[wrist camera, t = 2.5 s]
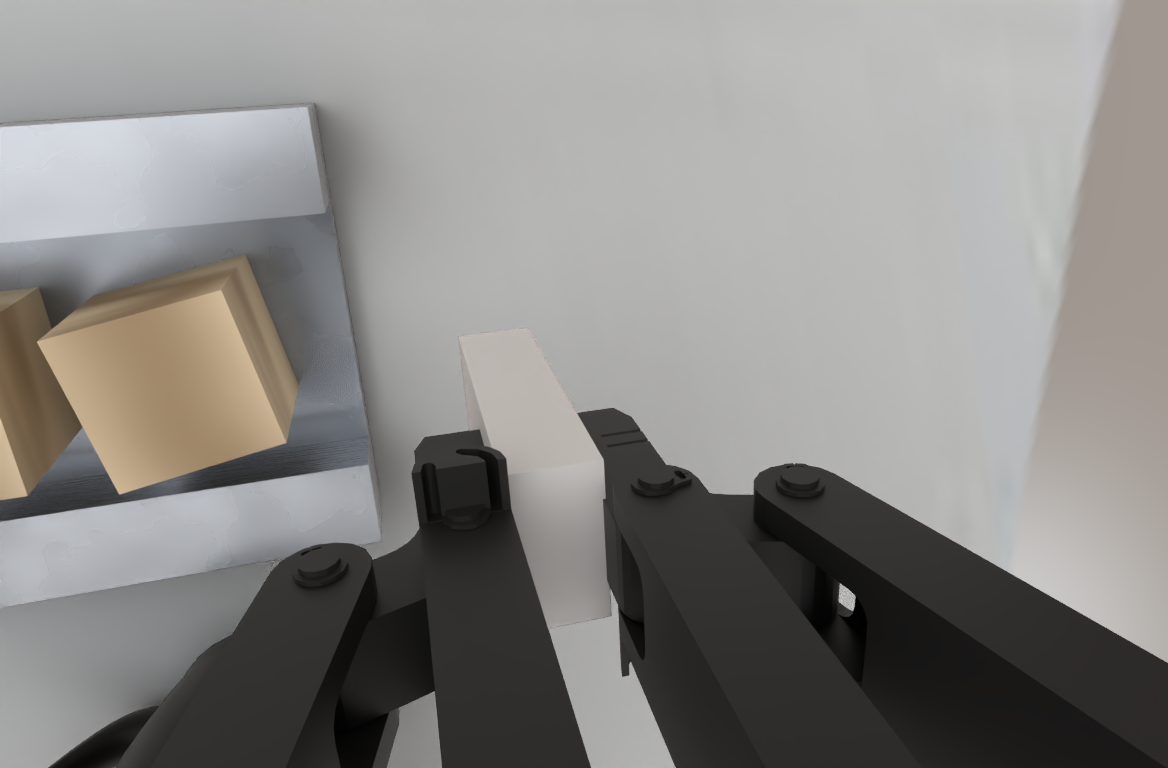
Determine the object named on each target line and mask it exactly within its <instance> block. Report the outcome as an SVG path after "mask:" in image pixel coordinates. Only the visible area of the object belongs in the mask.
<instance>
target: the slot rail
mask: <svg viewBox="0 0 1168 768" xmlns="http://www.w3.org/2000/svg"><path fill="white" fill-rule="evenodd" d="M244 254H245V255H246V257H247V260H248V262H249V264H250V267H251V269H252V272H253V274H254V277H255V279H256V282H257V284H258V287H259V289H260V291H261V294H262V296H263V299H264V301H265V304H266V306H267V309H268V311H269V314H270V316H271V319H272V321H273V323H274V326H275V328H276V331H277V333H278V336H279V338H280V341H281V343H282V346H283V348H284V350H285V353H286V355H287V358H288V360H289V363H290V365H291V368H292V370H293V373H294V375H295V377H296V380H297V382H298V385H299V388H298V392H297V397H296V402H295V406H294V411H293V415H292V420H291V424H290V429H289V434H288V438H287V443H285V444H281V445H278V446H275V447H272V448H268V449H265V450H262V451H259V452H255V453H252V454H249V455H246V456H242V457H239V458H236V459H233V460H230V461H226V462H223V463H220V464H217V465H213V466H210V467H207V468H204V469H200V470H197V471H194V472H191V473H187V474H184V475H181V476H178V477H175V478H171V479H168V480H165V481H162V482H158V483H155V484H152V485H149V486H145V487H142V488H139V489H136V490H132V491H129V492H126V493H123V494H119V493H118V491H117V490H116V488H115V486H114V484H113V482H112V480H111V478H110V477H109V475H108V473H107V471H106V469H105V467H104V465H103V464H102V462H101V460H100V458H99V456H98V454H97V452H96V451H95V449H94V447H93V445H92V443H91V441H90V439H89V438H88V436H87V434H86V432H85V430H84V428H83V426H82V429H81V430H80V431H79V433H78V434H77V435H76V436H75V438H74V439H73V440H72V441H71V443H70V444H69V445H68V446H67V448H66V449H65V450H64V451H63V453H62V454H61V455H60V456H59V458H58V459H57V460H56V461H55V463H54V464H53V465H52V466H51V468H50V469H49V470H48V471H47V473H46V474H45V475H44V476H43V478H42V479H41V480H40V481H39V483H38V484H37V485H36V486H35V488H34V489H33V490H32V491H31V493H30V494H29V495H28V496H25V497H18V498H11V499H5V500H0V608H1V607H7V606H13V605H18V604H24V603H30V602H36V601H41V600H47V599H53V598H59V597H64V596H70V595H76V594H81V593H87V592H93V591H99V590H104V589H110V588H116V587H122V586H127V585H133V584H139V583H144V582H150V581H156V580H162V579H167V578H173V577H179V576H185V575H190V574H196V573H202V572H207V571H213V570H219V569H225V568H230V567H236V566H242V565H248V564H253V563H259V562H265V561H271V560H276V559H282V558H287V557H289V556H291V555H293V554H294V553H296V552H298V551H300V550H302V549H305V548H307V547H308V548H309V547H310V546H314V545H318V544H328V543H335V542H336V543H350V544H354V545H362V544H368V543H374V542H379V541H381V508H380V490H379V484H378V478H377V472H376V466H375V460H374V454H373V448H372V442H371V436H370V430H369V424H368V418H367V412H366V406H365V400H364V394H363V388H362V382H361V376H360V370H359V364H358V358H357V352H356V346H355V340H354V334H353V328H352V322H351V316H350V310H349V305H348V299H347V293H346V287H345V281H344V275H343V269H342V263H341V257H340V251H339V245H338V239H337V233H336V227H335V221H334V215H333V209H332V203H331V197H330V191H329V185H328V179H327V173H326V167H325V161H324V155H323V149H322V143H321V137H320V131H319V125H318V119H317V113H316V107H315V103H302V104H287V105H272V106H256V107H241V108H226V109H210V110H195V111H180V112H164V113H149V114H134V115H118V116H103V117H88V118H72V119H57V120H42V121H26V122H11V123H0V291H6V290H16V289H26V288H35V287H39V290H40V293H41V296H42V299H43V303H44V306H45V309H46V312H47V316H48V319H49V322H50V325H51V328H52V329H53V328H54V327H55V326H57V325H58V324H59V323H60V322H61V321H63V320H64V319H65V318H66V317H68V316H69V315H70V314H71V313H73V312H74V311H75V310H76V309H77V308H79V307H80V306H81V305H82V304H84V303H85V302H86V301H87V300H88V299H90V298H91V297H92V296H94V295H98V294H102V293H105V292H109V291H113V290H116V289H120V288H124V287H127V286H131V285H135V284H138V283H142V282H145V281H149V280H153V279H156V278H160V277H164V276H167V275H171V274H175V273H178V272H182V271H185V270H189V269H193V268H196V267H200V266H204V265H207V264H211V263H215V262H218V261H222V260H225V259H229V258H233V257H236V256H240V255H244Z"/></svg>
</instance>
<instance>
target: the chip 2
mask: <svg viewBox="0 0 1168 768" xmlns="http://www.w3.org/2000/svg"><path fill="white" fill-rule="evenodd" d="M37 343H38V345H39V347H40V349H41V350H42V352H43V354H44V356H45V358H46V360H47V362H48V363H49V365H50V367H51V369H52V371H53V373H54V374H55V376H56V378H57V380H58V382H59V384H60V386H61V387H62V389H63V391H64V393H65V395H66V397H67V399H68V400H69V402H70V404H71V406H72V408H73V410H74V412H75V413H76V415H77V417H78V419H79V421H80V423H81V425H82V426H83V428H84V430H85V432H86V434H87V436H88V438H89V439H90V441H91V443H92V445H93V447H94V449H95V451H96V452H97V454H98V456H99V458H100V460H101V462H102V464H103V465H104V467H105V469H106V471H107V473H108V475H109V477H110V478H111V480H112V482H113V484H114V486H115V488H116V490H117V491H118V493H119V494H123V493H126V492H129V491H132V490H136V489H139V488H142V487H145V486H149V485H152V484H155V483H158V482H162V481H165V480H168V479H171V478H175V477H178V476H181V475H184V474H187V473H191V472H194V471H197V470H200V469H204V468H207V467H210V466H213V465H217V464H220V463H223V462H226V461H230V460H233V459H236V458H239V457H242V456H246V455H249V454H252V453H255V452H259V451H262V450H265V449H268V448H272V447H275V446H278V445H281V444H285V443H287V438H288V434H289V429H290V424H291V420H292V415H293V411H294V406H295V402H296V397H297V392H298V388H299V385H298V382H297V380H296V377H295V375H294V373H293V370H292V368H291V365H290V363H289V360H288V358H287V355H286V353H285V350H284V348H283V346H282V343H281V341H280V338H279V336H278V333H277V331H276V328H275V326H274V323H273V321H272V319H271V316H270V314H269V311H268V309H267V306H266V304H265V301H264V299H263V296H262V294H261V291H260V289H259V287H258V284H257V282H256V279H255V277H254V274H253V272H252V269H251V267H250V264H249V262H248V260H247V257H246V255H245V254H244V255H240V256H236V257H233V258H229V259H225V260H222V261H218V262H215V263H211V264H207V265H204V266H200V267H196V268H193V269H189V270H185V271H182V272H178V273H175V274H171V275H167V276H164V277H160V278H156V279H153V280H149V281H145V282H142V283H138V284H135V285H131V286H127V287H124V288H120V289H116V290H113V291H109V292H105V293H102V294H98V295H94V296H92V297H91V298H90V299H88V300H87V301H86V302H85V303H84V304H82V305H81V306H80V307H79V308H77V309H76V310H75V311H74V312H73V313H71V314H70V315H69V316H68V317H66V318H65V319H64V320H63V321H61V322H60V323H59V324H58V325H57V326H55V327H54V328H53V329H52V330H50V331H49V332H48V333H47V334H46V335H44V336H43V337H42V338H41V339H39V340H38V341H37Z"/></svg>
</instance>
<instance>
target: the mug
mask: <svg viewBox="0 0 1168 768" xmlns="http://www.w3.org/2000/svg"><path fill="white" fill-rule="evenodd" d="M230 637H231V636H229V637H227V638H225V639H224V640H222V641H220V642H218V643H216V644H214V645H212V646H211V647H210V648H209V649H208V650H206V651H205V652H204V653H203V654H201V655H200V656H199V657H198V658H197V659H196V661H195V662H194V663H193V664H192V666H191V667H190V668H189V670H188V671H187V673H186V674H185V676H184V677H183V678H182V680H181V681H180V682H179V683H178V684H177V685H176V687H175V688H174V689H173V690H172V691H171V692H170V694H169V695H168V696H167V697H166V699H165V700H164V701H163V702H162V704H161V705H160V706H154V707H149V708H145V709H142V710H138V711H136V712H133V713H131V714H128V715H126V716H124V717H122V718H120V719H118V720H116V721H114V722H113V723H111V724H109V725H107V726H106V727H104V728H103V729H101V730H99V731H98V732H96V733H95V734H93V735H92V736H90V737H89V738H88V739H86V740H85V741H83V742H82V743H81V744H79V745H78V746H76V747H75V748H74V749H72V750H71V751H70V752H68V753H67V754H66V755H64V756H63V757H62V758H60V759H59V760H58V761H56V762H55V763H54V764H53V765H51V766H50V767H49V768H115V767H116V768H150V767H151V765H152V764H153V762H154V761H155V759H156V757H157V756H158V754H159V753H160V751H161V749H162V748H163V746H164V744H165V743H166V741H167V740H168V738H169V736H170V735H171V733H172V731H173V730H174V728H175V727H176V725H177V723H178V722H179V720H180V719H181V717H182V715H183V714H184V712H185V710H186V709H187V707H188V706H189V704H190V702H191V701H192V699H193V697H194V696H195V694H196V693H197V691H198V689H199V688H200V686H201V684H202V683H203V681H204V680H205V678H206V676H207V675H208V673H209V672H210V670H211V668H212V667H213V665H214V663H215V662H216V660H217V659H218V657H219V655H220V654H221V652H222V650H223V649H224V647H225V646H226V644H227V642H228V641H229V639H230Z"/></svg>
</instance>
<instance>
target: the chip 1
mask: <svg viewBox="0 0 1168 768" xmlns="http://www.w3.org/2000/svg"><path fill="white" fill-rule="evenodd" d="M50 330H52V328H51V325H50V322H49V319H48V316H47V312H46V309H45V306H44V303H43V299H42V296H41V293H40V290H39V287H35V288H26V289H16V290H6V291H0V500H5V499H11V498H18V497H25V496H28V495H29V494H30V493H31V491H32V490H33V489H34V488H35V486H36V485H37V484H38V483H39V481H40V480H41V479H42V478H43V476H44V475H45V474H46V473H47V471H48V470H49V469H50V468H51V466H52V465H53V464H54V463H55V461H56V460H57V459H58V458H59V456H60V455H61V454H62V453H63V451H64V450H65V449H66V448H67V446H68V445H69V444H70V443H71V441H72V440H73V439H74V438H75V436H76V435H77V434H78V433H79V431H80V430H81V429H82V425H81V423H80V421H79V419H78V417H77V415H76V413H75V412H74V410H73V408H72V406H71V404H70V402H69V400H68V399H67V397H66V395H65V393H64V391H63V389H62V387H61V386H60V384H59V382H58V380H57V378H56V376H55V374H54V373H53V371H52V369H51V367H50V365H49V363H48V362H47V360H46V358H45V356H44V354H43V352H42V350H41V349H40V347H39V345H38V343H37V341H38V340H39V339H41V338H42V337H43V336H44V335H46V334H47V333H48V332H49V331H50Z"/></svg>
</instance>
